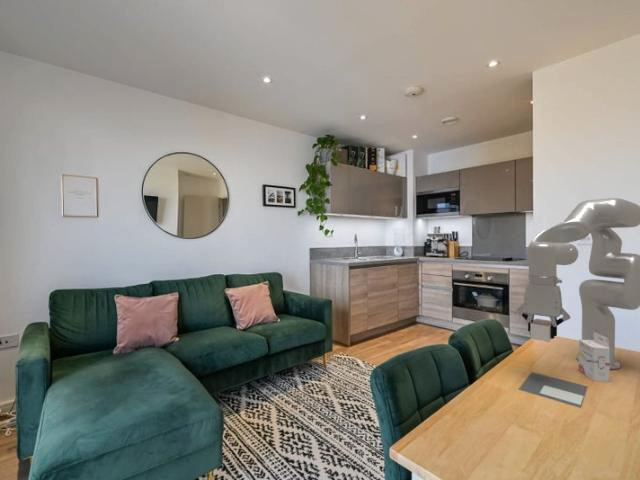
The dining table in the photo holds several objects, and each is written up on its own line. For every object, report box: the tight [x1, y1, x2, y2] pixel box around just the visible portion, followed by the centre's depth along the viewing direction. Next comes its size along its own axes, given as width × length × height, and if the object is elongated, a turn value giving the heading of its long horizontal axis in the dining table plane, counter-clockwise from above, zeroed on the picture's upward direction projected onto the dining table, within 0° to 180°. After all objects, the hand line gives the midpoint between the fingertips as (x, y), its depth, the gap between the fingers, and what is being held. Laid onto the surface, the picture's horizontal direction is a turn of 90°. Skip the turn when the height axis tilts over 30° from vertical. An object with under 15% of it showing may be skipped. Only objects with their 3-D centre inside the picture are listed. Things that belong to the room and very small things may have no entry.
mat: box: [518, 371, 588, 409], centre depth 99 cm, size 18×15×1 cm
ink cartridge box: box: [578, 332, 610, 383], centre depth 108 cm, size 9×5×15 cm, turn 168°
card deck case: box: [529, 318, 552, 343], centre depth 105 cm, size 8×5×5 cm, turn 135°
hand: (542, 335), depth 105 cm, fingers closed on card deck case, 5 cm apart
